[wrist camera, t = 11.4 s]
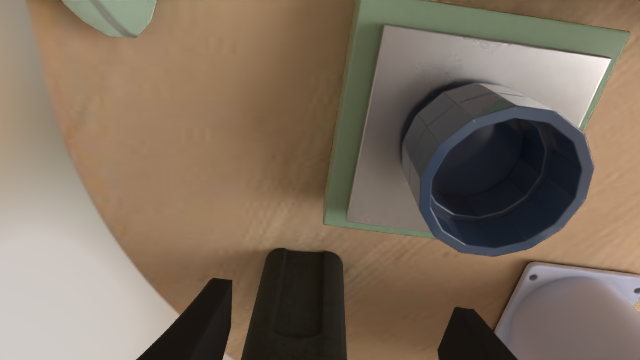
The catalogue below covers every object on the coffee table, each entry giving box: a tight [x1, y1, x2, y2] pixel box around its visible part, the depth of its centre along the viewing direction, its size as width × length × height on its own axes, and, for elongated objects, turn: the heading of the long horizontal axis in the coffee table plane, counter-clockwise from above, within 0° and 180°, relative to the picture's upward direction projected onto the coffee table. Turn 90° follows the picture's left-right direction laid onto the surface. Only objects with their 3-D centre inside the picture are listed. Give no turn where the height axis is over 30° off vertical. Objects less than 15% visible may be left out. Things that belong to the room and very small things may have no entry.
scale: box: [323, 0, 630, 250], centre depth 18 cm, size 11×12×3 cm
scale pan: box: [345, 23, 611, 232], centre depth 16 cm, size 9×9×1 cm
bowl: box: [402, 83, 594, 257], centre depth 14 cm, size 6×6×4 cm
